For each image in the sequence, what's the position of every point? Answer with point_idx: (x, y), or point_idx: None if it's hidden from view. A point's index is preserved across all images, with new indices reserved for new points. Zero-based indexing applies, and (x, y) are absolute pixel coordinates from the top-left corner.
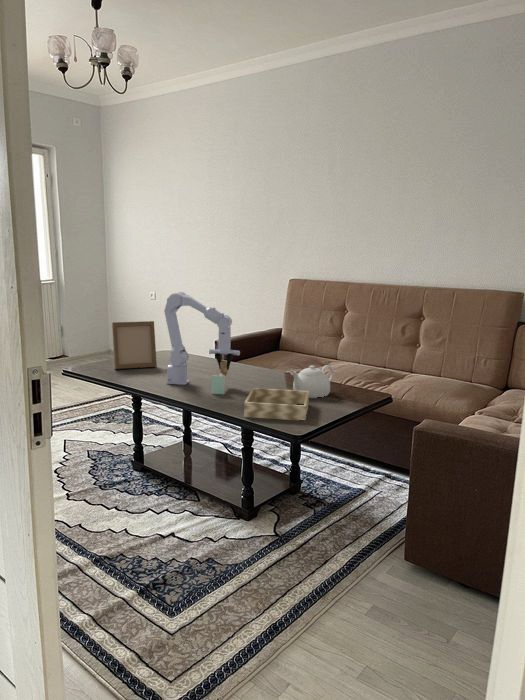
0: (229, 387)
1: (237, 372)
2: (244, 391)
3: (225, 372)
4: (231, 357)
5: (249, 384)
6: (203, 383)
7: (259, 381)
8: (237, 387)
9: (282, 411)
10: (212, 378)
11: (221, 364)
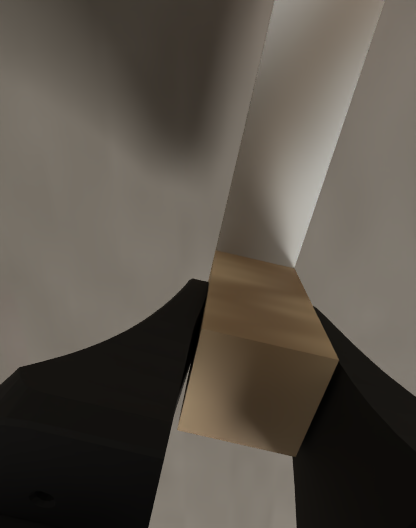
0: (200, 194)
1: (156, 503)
2: (58, 46)
3: (231, 257)
4: (3, 384)
5: (54, 277)
6: (400, 315)
7: (4, 343)
8: (134, 194)
9: None
10: None
11: (306, 327)
